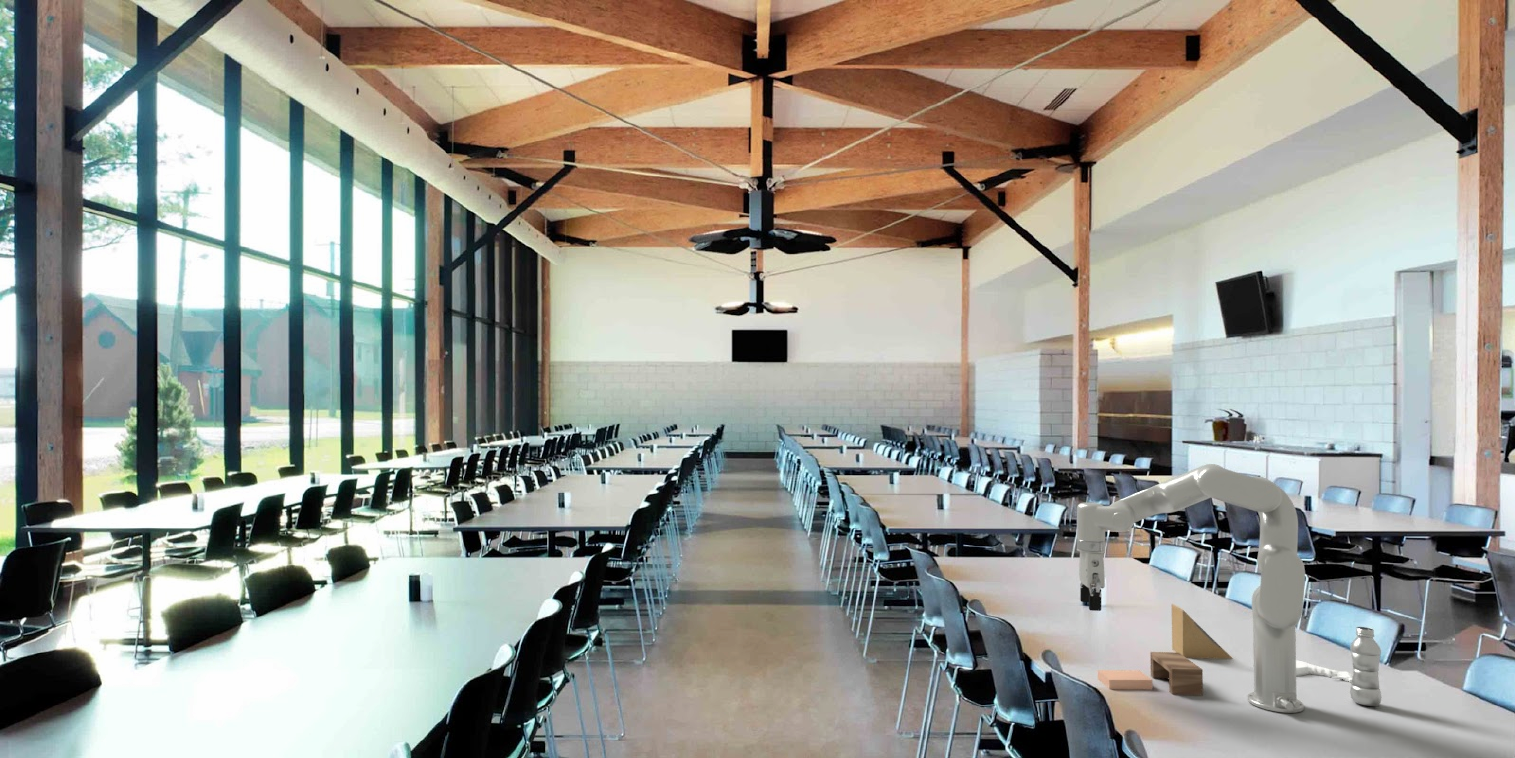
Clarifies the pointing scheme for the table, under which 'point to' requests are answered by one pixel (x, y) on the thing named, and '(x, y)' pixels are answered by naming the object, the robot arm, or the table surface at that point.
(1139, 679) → the peach flat block
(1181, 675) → the wooden bridge block
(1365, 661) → the plastic bottle
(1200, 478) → the robot arm
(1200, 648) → the sandwich container
